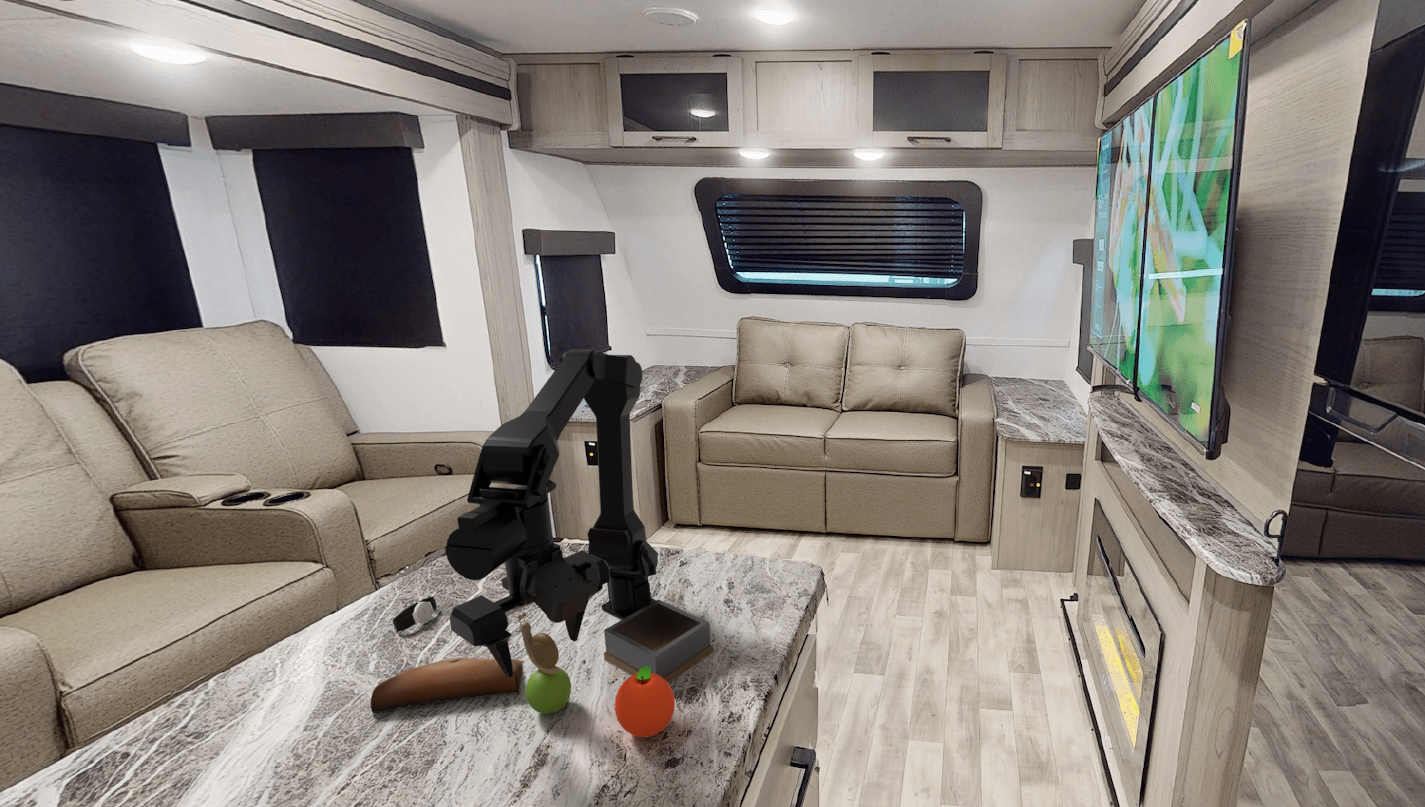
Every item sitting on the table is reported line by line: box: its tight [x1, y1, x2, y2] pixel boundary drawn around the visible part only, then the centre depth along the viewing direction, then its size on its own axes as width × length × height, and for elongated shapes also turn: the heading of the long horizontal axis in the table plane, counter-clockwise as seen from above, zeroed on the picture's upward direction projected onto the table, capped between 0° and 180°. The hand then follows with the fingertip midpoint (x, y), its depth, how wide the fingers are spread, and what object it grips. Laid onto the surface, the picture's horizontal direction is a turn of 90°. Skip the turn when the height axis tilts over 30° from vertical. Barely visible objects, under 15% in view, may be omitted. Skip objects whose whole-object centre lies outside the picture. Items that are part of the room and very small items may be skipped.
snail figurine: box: [516, 611, 572, 715], centre depth 84 cm, size 5×6×12 cm
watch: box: [392, 596, 438, 632], centre depth 107 cm, size 8×5×4 cm, turn 161°
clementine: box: [614, 666, 676, 738], centre depth 80 cm, size 8×7×7 cm
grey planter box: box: [603, 599, 715, 684], centre depth 94 cm, size 11×11×4 cm
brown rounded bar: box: [370, 656, 525, 713], centre depth 90 cm, size 18×7×7 cm
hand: (542, 657), depth 84 cm, fingers open, 9 cm apart
